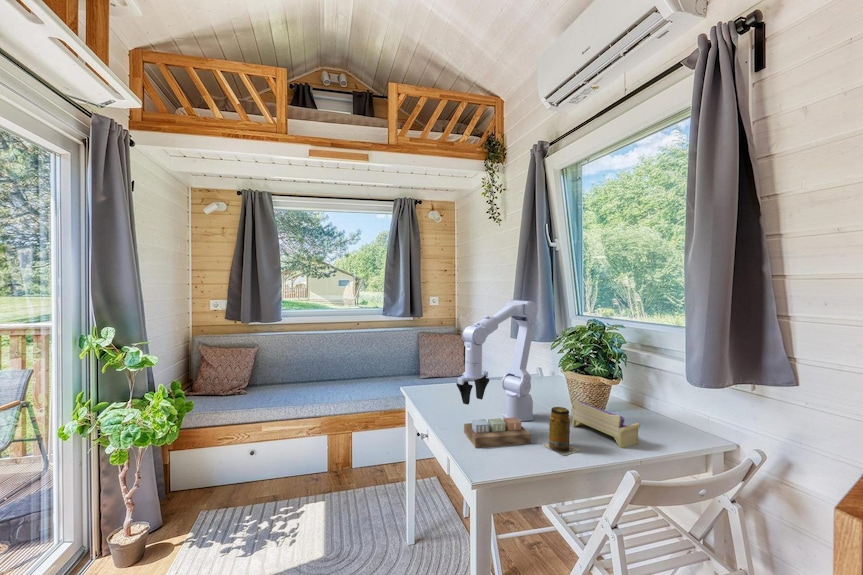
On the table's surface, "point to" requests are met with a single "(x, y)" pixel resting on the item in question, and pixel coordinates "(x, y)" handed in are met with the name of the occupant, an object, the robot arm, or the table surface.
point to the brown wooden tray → (497, 437)
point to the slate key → (480, 426)
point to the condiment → (560, 431)
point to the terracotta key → (512, 424)
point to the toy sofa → (605, 423)
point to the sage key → (496, 425)
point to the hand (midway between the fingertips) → (472, 401)
